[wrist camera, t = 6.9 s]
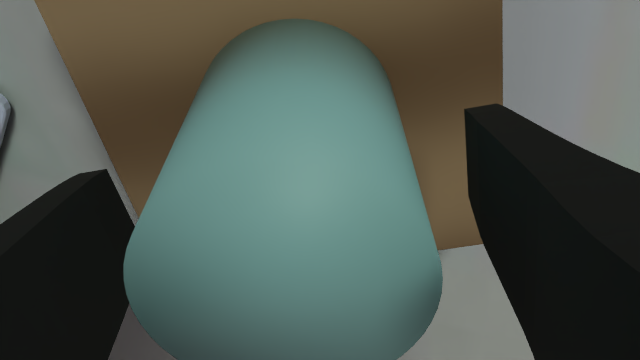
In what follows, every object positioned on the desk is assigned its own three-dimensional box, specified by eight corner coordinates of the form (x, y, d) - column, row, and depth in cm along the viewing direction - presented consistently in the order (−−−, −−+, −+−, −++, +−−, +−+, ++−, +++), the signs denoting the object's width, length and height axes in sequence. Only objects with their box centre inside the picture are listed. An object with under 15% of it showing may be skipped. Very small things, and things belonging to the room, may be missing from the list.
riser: (477, 182, 18) (503, 240, 15) (192, 226, 19) (172, 287, 16) (465, -168, 12) (501, -167, 10) (65, -79, 13) (7, -57, 11)
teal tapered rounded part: (331, 221, 15) (338, 419, 10) (170, 147, 14) (83, 334, 9) (434, 82, 13) (510, 249, 8) (252, -24, 11) (198, 96, 6)
